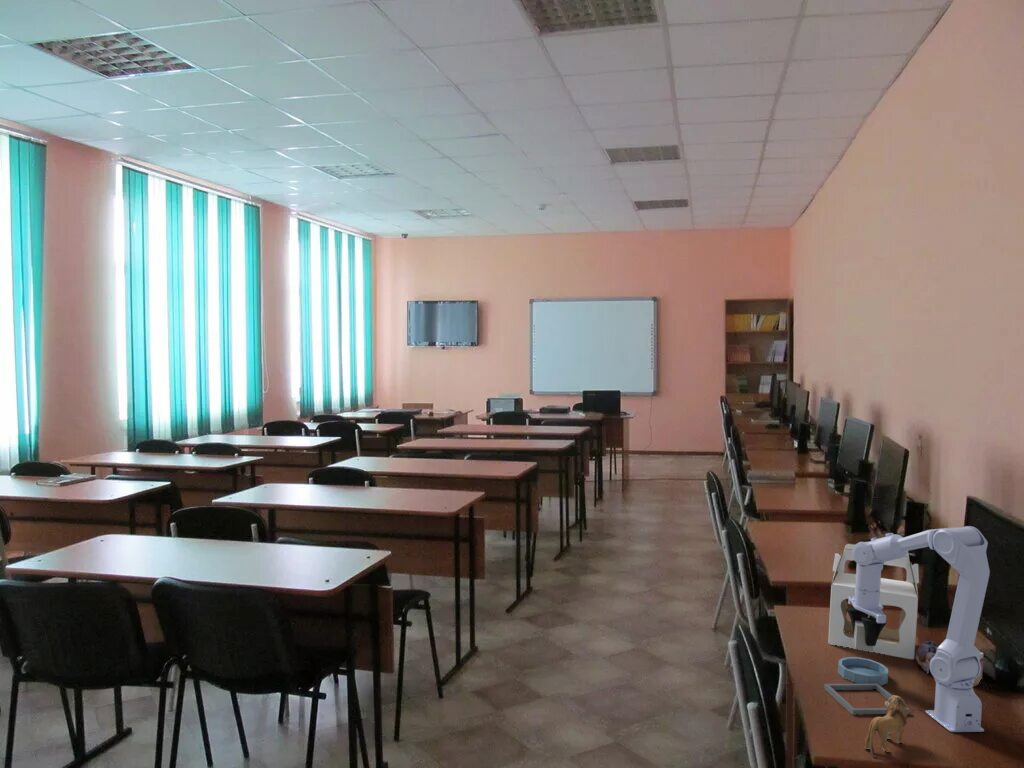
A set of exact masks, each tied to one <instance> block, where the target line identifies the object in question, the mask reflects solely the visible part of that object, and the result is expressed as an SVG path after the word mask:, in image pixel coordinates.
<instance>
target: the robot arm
mask: <svg viewBox="0 0 1024 768" xmlns="http://www.w3.org/2000/svg"><path fill="white" fill-rule="evenodd" d="M884 535H885V536H883V537H879V538H878V537H873V538H871V539H870V541H859V542H858V543H854V544H855V545H854V547H853V549H852V555H853V558H854V560H855V563H856V571H855V574H856V586H855V596H848V599H847V600H848V601H847V605H851V607H848V608H847V614H848V616H849V619H850V622H852V627H853V632H854V630H855V621H862V622H863V625H864V629H865V641H866V645H867V646H875V645H876V642H877V639H878V636H879V634H880V632H881V630H882V629H883V627H886V625H887V615H886V614H884V612H883V609H884V605H879V599H880V582H881V578H882V571H883V569H884V565H883V564H884V563H885V562H886V561H891V560H895V559H899V558H903V557H905V556H906V555H907V554H909V551H913V550H918V549H924V548H927V547H929V549H930V550H934V551H935V552H936V553H937V554H938V555H939V556H941V557H940V558H942V559H943V560H944V561H946V562H947V563H948V564H949V565H950V566H951V567H952V568H954V570H956V572H957V573H958V574H959V576H958V582H957V586H956V591H955V595H954V599H953V605H952V609H951V610H952V611H951V615H950V619H949V623H948V628H947V632H946V637H945V639H944V640H943V641H942V642H941V644H940V645H938V646H939V647H938V648H937V651H936V654H935V656H934V657H933V658H932V659H931V661H930V670H929V672H930V671H931V672H930V674H931V676H932V677H933V678H934V681H935V691H934V692H935V694H934V709H927V710H926V709H925V713H926V714H927V715H928V716H930V718H932V719H933V720H935V721H936V722H937V723H939V724H940V725H941V726H943V727H944V729H946V730H947V731H949V732H950V733H972V732H973V733H976V732H977V733H978V732H979V733H982V732H985V729H984V728H983V727H982V725H981V723H982V711H983V710H982V709H983V703H982V701H981V699H980V697H978V695H977V694H976V693H975V691H974V687H973V684H974V678H977V677H978V676H979V675H980V673H981V664H980V652H981V651H980V650H979V649H978V648H977V647H976V646H975V643H976V639H977V638H976V637H977V633H978V628H979V625H980V624H979V623H980V618H981V615H982V610H983V607H984V600H985V597H986V592H987V587H988V584H989V578H990V573H991V571H990V566H989V562H988V560H989V559H988V557H987V556H988V555H987V549H988V545H989V544H988V540H987V539H986V538H985V536H984V535H983V534H982V532H981V531H980V530H979V528H977V527H974V526H971V525H965V526H962V527H946V528H935V529H927V530H923V531H921V532H918V533H914V534H911V535H908V536H905V537H904V536H902V535H900V534H894V533H893V532H888V533H885V534H884ZM854 560H853V561H854Z"/></svg>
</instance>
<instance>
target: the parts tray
mask: <svg viewBox="0 0 1024 768" xmlns="http://www.w3.org/2000/svg"><path fill="white" fill-rule="evenodd" d="M823 689H824V690H825V691H826V693H828V694H829V695H830V696H832V698H833V699H835V700H836V701H837V703H839V704H840V705H842V707H843V708H844V707H845V708H846V709H845V710H847V712H849V713H850V714H851V715H852V716H857V715H856V714H861V715H860V716H864V715H863V714H887V707H868V708H867V707H860V708H857V707H854V706H852V705H851V703H849V702H848V701H847V700H846V699H845V698H844V697H843V696H841V695H840V693H838V692H837V691H868V690H869V691H874V690H873V689H876V690H875V691H877V692H878V691H879V692H880V693H881V694H880V693H879V692H878V693H879V694H880V695H881V696H883V697H884V698H885V699H886V698H887V699H886V700H887V701H888V700H889V698H890V697H892V696H893V694H891V693H890V692H889V691H887V690H886V689H885V688H884V687H882V685H881V686H880V685H879V684H857V683H824V687H823ZM906 708H907V715H910V710H911V709H910V708H908V707H906Z"/></svg>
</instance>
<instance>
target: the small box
mask: <svg viewBox="0 0 1024 768" xmlns="http://www.w3.org/2000/svg"><path fill="white" fill-rule="evenodd" d="M980 664H981V673H980V675H979V676H978V677H977V678H974V684H973V688H974V687H976V686H978V685H980V684H979V682H980V680H981V679H982V680H983V669H984V668H983V666H984V652H983V651H980Z"/></svg>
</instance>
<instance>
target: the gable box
mask: <svg viewBox="0 0 1024 768" xmlns="http://www.w3.org/2000/svg"><path fill="white" fill-rule="evenodd" d="M855 544H856V543H846V544H845V545H844V549H843V552H842V553H841V554H840V553H839V552H835V553H834V559H833V564H832V565H833V566H832V572H834V574H833V576H832V581H831V585H830V587H831V588H830V601H829V603H830V606H829V607H830V608H829V622H828V623H829V624H828V638H827V639H828V641H827V643H828V645H831V646H835V645H837V646H836V647H840V646H843V647H842V648H846V647H849V648H848V649H851V648H853V650H857V649H856V648H855V645H854V632H853V627H852V622H851V620H848V617H847V614H848V612H847V608H849V607H848V601H847V600H848V596H855V586H856V573H854V572H846V571H845V568H846V567H845V565H846V562H847V561H855V560H854V558H853V555H852V549H853V547H854V545H855ZM855 562H856V561H855ZM883 566H892V567H899V568H904V569H905V570H906V579H905V580H902V579H895V578H886V577H881V582H880V599H879V605H881V606H892V607H897V608H900V609H901V612H900V614H899V626H898V628H897V629H891V628H888V627H886V626H884V627H883V629H882V630H881V632H880V634H879V636H878V639H877V642H876V645H875V646H873V651H869V653H873V652H875V653H874V654H879V653H880V654H879V655H884V654H885V656H890V657H896V658H901V659H907V660H911V661H912V660H915V655H916V652H915V651H916V637H917V636H916V634H917V623H918V621H917V620H918V605H919V604H918V603H919V594H918V593H919V592H918V584H919V583H920V577H919V575H920V574H919V563H914V564H912V562H911V561H910V555H909V553H908V554H907V555H906V556H905V557H903V558H899V559H895V560H891V561H886V562H885V563H884V564H883ZM843 631H845V632H843ZM849 632H850V633H849ZM844 633H845V634H844ZM858 651H860V650H859V649H858ZM862 652H868V651H867V650H863V651H862Z"/></svg>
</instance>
